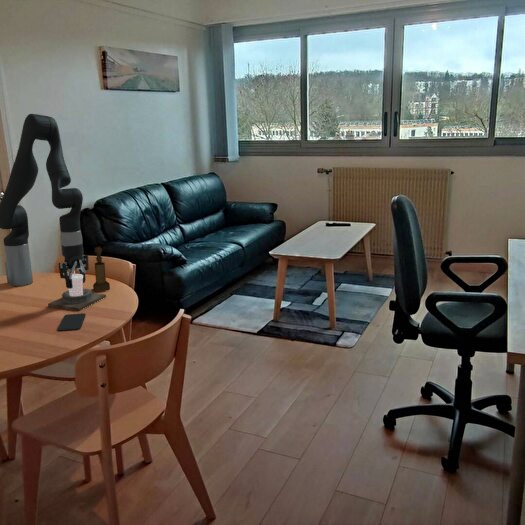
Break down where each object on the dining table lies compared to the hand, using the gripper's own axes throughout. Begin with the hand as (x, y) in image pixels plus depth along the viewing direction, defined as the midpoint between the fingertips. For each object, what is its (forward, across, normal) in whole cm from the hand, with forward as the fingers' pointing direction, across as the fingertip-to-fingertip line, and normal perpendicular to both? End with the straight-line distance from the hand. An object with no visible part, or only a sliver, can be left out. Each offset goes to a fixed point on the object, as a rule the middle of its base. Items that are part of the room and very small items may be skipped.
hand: (76, 285), depth 198 cm
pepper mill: (+7, -16, -1) cm, 17 cm away
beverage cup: (+6, 0, 0) cm, 6 cm away
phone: (+7, +18, +12) cm, 23 cm away
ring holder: (+7, 0, 0) cm, 7 cm away
